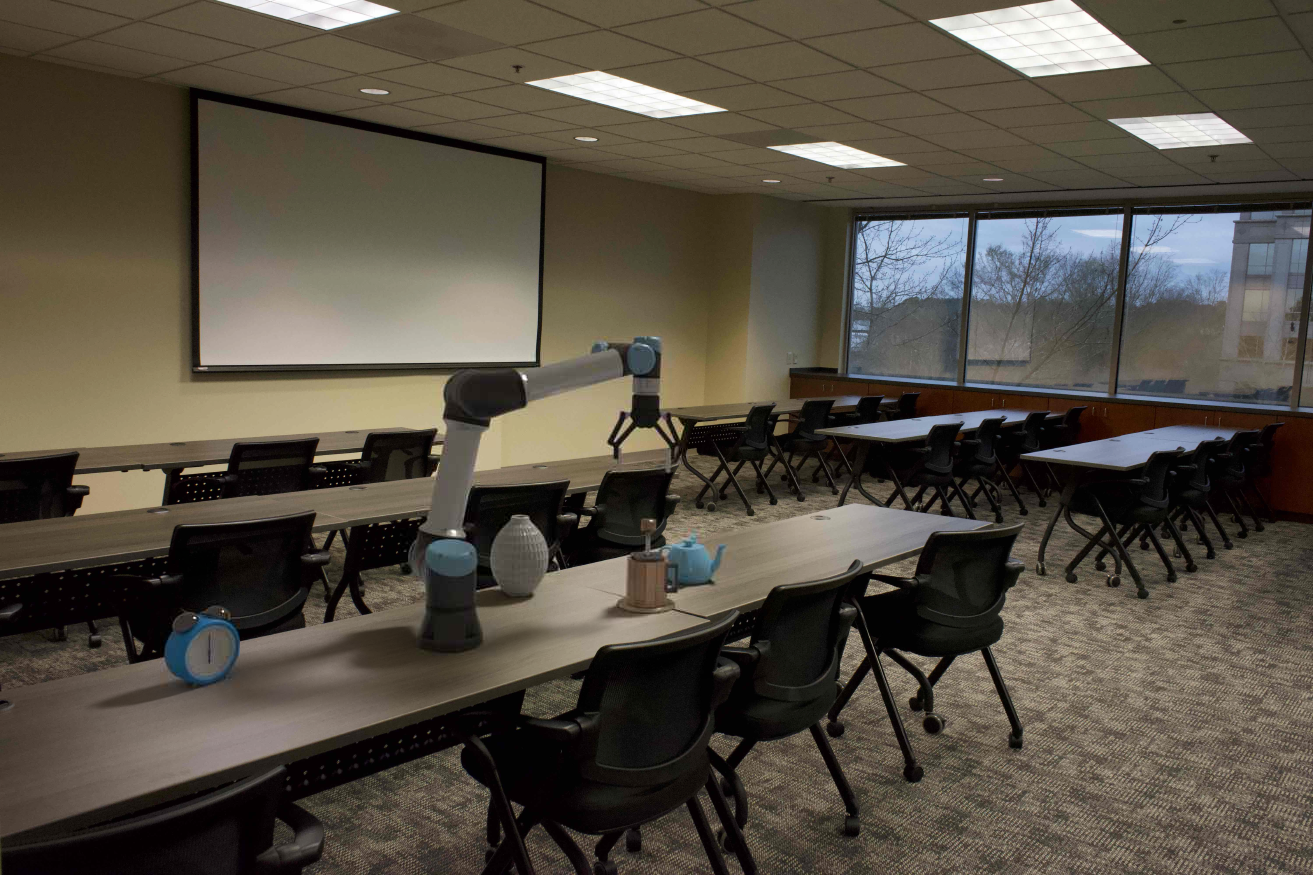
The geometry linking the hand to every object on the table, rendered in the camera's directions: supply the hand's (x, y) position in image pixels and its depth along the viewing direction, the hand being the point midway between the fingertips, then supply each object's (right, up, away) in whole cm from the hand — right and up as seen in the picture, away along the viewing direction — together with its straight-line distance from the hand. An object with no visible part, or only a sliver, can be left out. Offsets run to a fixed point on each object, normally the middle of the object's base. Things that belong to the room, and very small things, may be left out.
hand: (643, 471), depth 253 cm
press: (+1, -37, +2) cm, 37 cm away
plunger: (+1, -33, +2) cm, 33 cm away
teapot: (+14, -35, +32) cm, 49 cm away
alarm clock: (-89, -41, -63) cm, 117 cm away
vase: (-35, -35, +10) cm, 51 cm away
